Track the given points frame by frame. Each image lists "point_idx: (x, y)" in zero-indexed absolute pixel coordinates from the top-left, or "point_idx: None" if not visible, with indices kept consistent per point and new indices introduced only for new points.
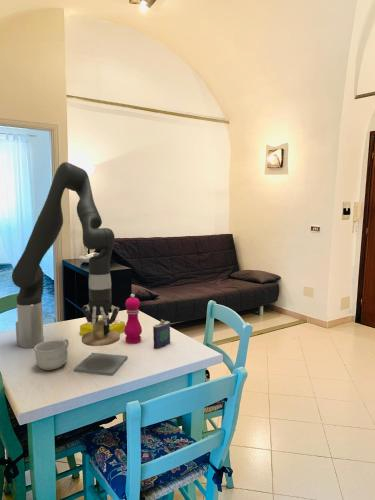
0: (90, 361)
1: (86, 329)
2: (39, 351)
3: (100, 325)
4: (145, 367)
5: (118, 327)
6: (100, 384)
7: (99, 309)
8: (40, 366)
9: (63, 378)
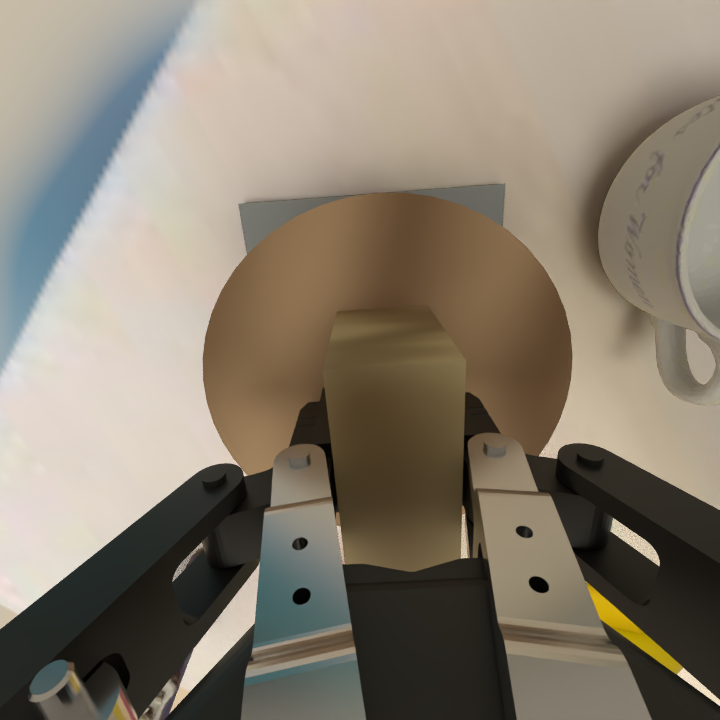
0: None
1: (635, 626)
2: None
3: (328, 370)
4: (132, 354)
5: None
6: (248, 64)
7: (426, 714)
8: None
9: (522, 69)
